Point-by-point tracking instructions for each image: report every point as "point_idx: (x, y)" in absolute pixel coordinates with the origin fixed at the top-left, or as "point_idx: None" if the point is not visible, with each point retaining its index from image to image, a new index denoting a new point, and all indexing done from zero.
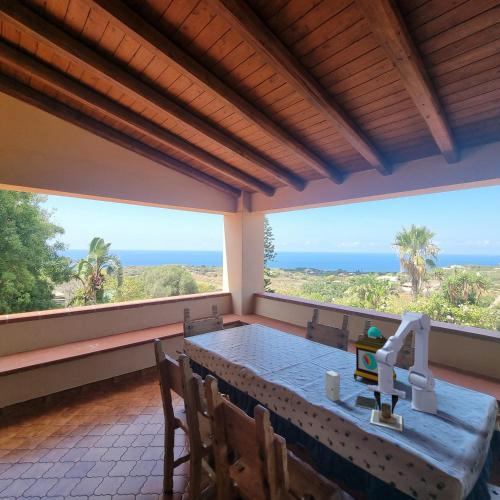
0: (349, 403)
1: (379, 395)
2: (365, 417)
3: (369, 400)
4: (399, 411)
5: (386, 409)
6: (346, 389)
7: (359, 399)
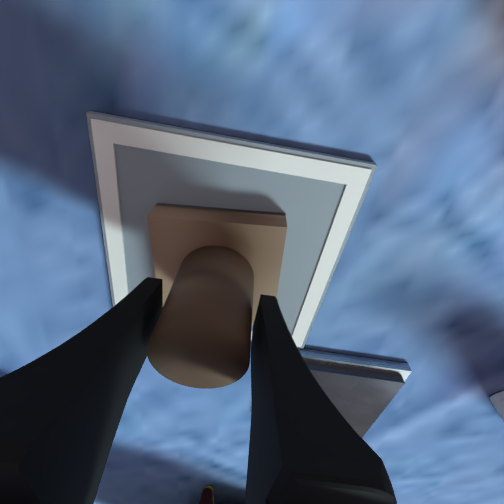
0: (434, 376)
1: (285, 496)
2: (379, 251)
3: None
4: None
5: (201, 299)
6: (394, 467)
7: (364, 413)
